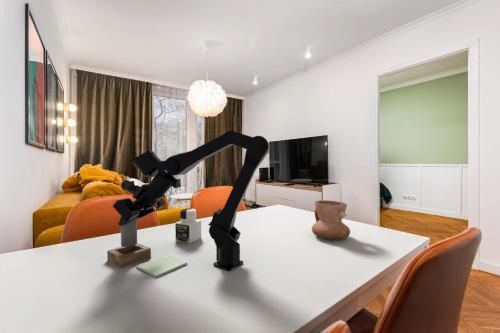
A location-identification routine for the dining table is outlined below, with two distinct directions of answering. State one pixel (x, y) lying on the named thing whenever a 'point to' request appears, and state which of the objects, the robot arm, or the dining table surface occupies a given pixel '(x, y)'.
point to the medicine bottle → (188, 226)
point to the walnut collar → (128, 255)
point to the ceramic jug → (330, 220)
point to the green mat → (161, 265)
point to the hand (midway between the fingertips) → (124, 223)
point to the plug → (129, 234)
